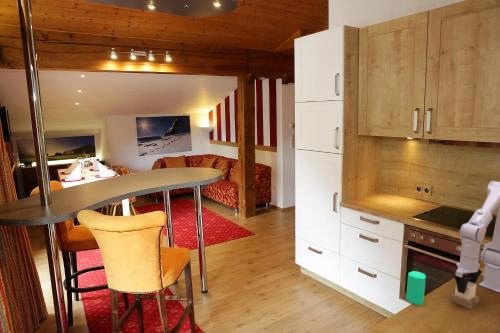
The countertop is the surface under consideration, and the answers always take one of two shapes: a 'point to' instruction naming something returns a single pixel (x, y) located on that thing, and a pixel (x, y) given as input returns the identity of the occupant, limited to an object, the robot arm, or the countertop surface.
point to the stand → (464, 301)
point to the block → (467, 291)
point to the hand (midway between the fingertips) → (465, 289)
